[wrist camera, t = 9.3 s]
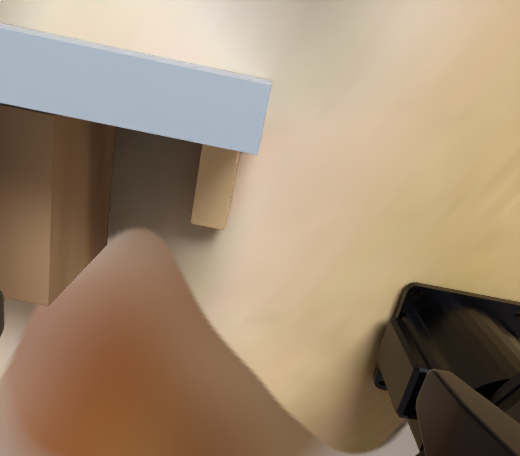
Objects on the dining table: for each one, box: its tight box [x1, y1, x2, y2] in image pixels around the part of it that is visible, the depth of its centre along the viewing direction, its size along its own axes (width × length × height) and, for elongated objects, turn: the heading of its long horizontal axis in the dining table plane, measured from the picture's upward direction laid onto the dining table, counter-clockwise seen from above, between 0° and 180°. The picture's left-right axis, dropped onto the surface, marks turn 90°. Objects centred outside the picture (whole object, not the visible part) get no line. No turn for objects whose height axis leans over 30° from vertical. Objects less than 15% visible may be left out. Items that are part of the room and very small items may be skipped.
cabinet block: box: [0, 103, 116, 306], centre depth 17 cm, size 5×7×6 cm
